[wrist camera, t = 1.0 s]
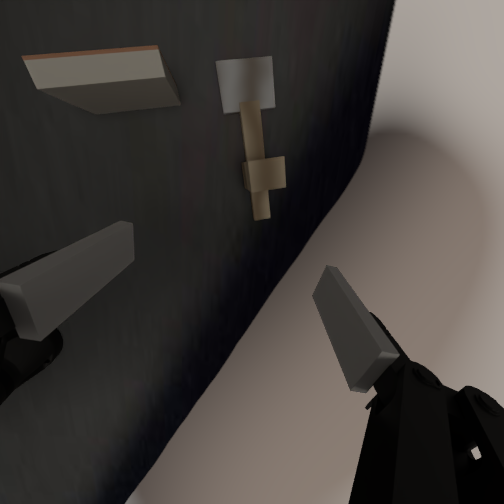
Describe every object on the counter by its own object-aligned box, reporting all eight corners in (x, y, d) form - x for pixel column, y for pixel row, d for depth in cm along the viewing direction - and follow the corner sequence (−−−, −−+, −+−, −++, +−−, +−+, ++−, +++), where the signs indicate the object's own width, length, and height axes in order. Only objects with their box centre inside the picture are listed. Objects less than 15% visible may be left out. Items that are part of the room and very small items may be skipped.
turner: (240, 220, 37) (247, 234, 30) (215, 64, 28) (215, 24, 20) (280, 213, 38) (297, 225, 30) (270, 59, 28) (290, 19, 21)
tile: (95, 114, 28) (37, 89, 19) (87, 93, 27) (21, 56, 18) (181, 105, 29) (165, 76, 20) (176, 84, 28) (157, 45, 19)
